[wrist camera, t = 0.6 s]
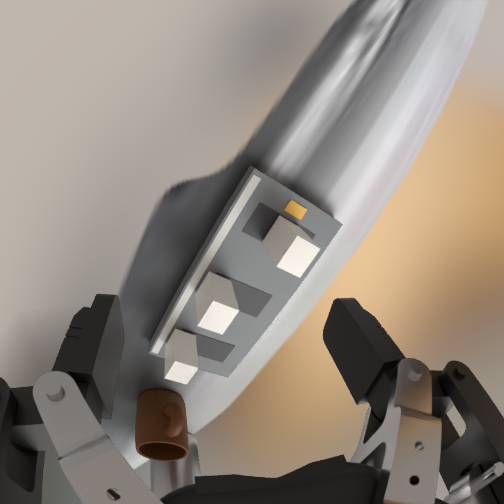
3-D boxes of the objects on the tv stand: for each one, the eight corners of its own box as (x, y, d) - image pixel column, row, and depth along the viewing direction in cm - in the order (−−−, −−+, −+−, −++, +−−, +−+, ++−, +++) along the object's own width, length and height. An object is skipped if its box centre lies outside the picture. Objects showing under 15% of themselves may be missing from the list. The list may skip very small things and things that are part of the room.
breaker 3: (283, 252, 28) (299, 277, 24) (262, 241, 27) (276, 266, 23) (300, 227, 28) (320, 248, 23) (279, 215, 27) (297, 235, 22)
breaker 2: (216, 303, 29) (222, 334, 25) (195, 294, 28) (197, 325, 24) (231, 281, 29) (239, 310, 24) (208, 271, 28) (213, 300, 23)
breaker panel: (225, 366, 37) (228, 377, 35) (149, 342, 33) (148, 354, 31) (334, 217, 31) (343, 225, 29) (250, 165, 26) (255, 168, 24)
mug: (151, 363, 35) (149, 421, 26) (203, 377, 38) (210, 432, 29) (132, 406, 38) (130, 455, 30) (176, 416, 41) (179, 464, 33)
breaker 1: (184, 352, 32) (186, 384, 27) (165, 346, 31) (164, 378, 26) (195, 335, 31) (198, 368, 26) (175, 328, 30) (175, 361, 26)
